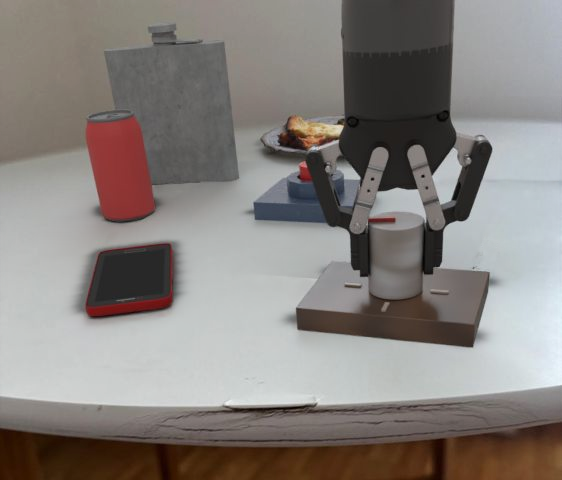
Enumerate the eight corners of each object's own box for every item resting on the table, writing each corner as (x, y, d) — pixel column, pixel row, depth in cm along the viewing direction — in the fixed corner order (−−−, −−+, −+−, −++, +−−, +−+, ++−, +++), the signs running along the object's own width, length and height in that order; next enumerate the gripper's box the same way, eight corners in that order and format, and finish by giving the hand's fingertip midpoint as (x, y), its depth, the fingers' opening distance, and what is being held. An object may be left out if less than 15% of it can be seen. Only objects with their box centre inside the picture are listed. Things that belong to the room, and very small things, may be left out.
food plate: (242, 164, 104) (239, 140, 102) (286, 129, 122) (285, 108, 120) (410, 164, 96) (411, 138, 95) (430, 126, 115) (431, 104, 113)
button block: (376, 197, 85) (375, 164, 83) (354, 225, 77) (353, 189, 75) (284, 194, 89) (281, 163, 87) (254, 220, 81) (251, 186, 79)
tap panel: (488, 292, 60) (490, 269, 59) (473, 348, 52) (475, 322, 51) (332, 280, 64) (331, 259, 63) (296, 330, 57) (295, 306, 55)
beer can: (138, 224, 83) (118, 120, 77) (92, 222, 85) (69, 120, 79) (165, 207, 88) (148, 108, 82) (121, 205, 90) (102, 108, 84)
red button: (334, 174, 82) (333, 159, 81) (325, 183, 79) (324, 167, 78) (305, 173, 83) (304, 159, 82) (295, 182, 80) (294, 167, 79)
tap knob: (421, 277, 59) (423, 206, 55) (423, 299, 55) (425, 225, 52) (369, 278, 59) (368, 208, 56) (367, 300, 56) (366, 227, 52)
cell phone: (173, 250, 74) (171, 241, 74) (173, 308, 62) (171, 298, 61) (100, 259, 74) (98, 250, 73) (85, 319, 61) (83, 309, 61)
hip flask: (126, 186, 98) (95, 29, 88) (135, 178, 101) (106, 26, 91) (237, 182, 96) (219, 20, 85) (241, 173, 99) (225, 17, 89)
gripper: (288, 54, 45) (305, 295, 54) (515, 37, 43) (494, 288, 52) (297, 42, 52) (310, 259, 60) (495, 26, 50) (479, 252, 59)
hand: (396, 271), depth 56 cm, fingers closed on tap knob, 4 cm apart
